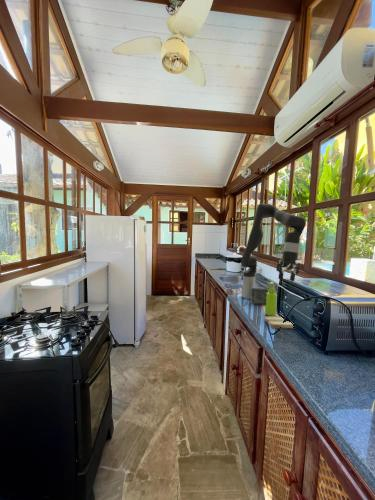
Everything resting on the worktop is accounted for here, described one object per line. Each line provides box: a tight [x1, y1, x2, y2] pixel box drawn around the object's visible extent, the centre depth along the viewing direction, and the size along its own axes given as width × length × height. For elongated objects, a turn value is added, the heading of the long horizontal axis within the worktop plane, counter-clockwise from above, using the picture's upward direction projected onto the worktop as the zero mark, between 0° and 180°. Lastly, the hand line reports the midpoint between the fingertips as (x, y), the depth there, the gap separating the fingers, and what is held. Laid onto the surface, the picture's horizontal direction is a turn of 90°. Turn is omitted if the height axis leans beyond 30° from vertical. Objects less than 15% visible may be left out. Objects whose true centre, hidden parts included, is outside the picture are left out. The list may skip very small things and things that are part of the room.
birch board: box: [263, 315, 294, 329], centre depth 125 cm, size 12×12×2 cm
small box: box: [251, 287, 269, 306], centre depth 161 cm, size 11×6×10 cm, turn 84°
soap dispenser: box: [265, 281, 278, 316], centre depth 140 cm, size 6×7×20 cm
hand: (286, 280), depth 123 cm, fingers open, 8 cm apart
